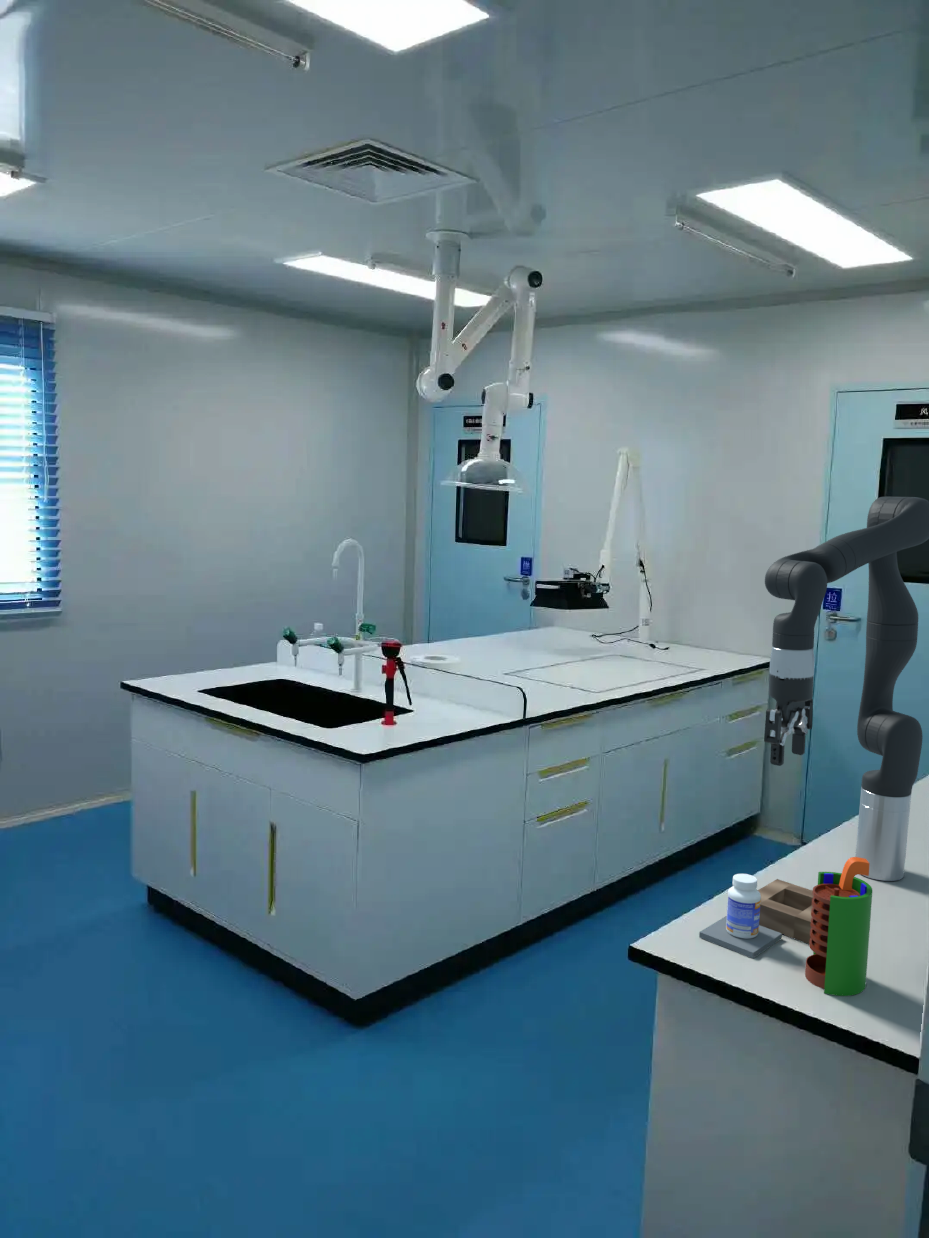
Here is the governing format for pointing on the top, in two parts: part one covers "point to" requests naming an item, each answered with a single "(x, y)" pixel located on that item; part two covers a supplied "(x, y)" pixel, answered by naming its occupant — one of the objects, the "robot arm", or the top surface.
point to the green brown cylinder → (840, 930)
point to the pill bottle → (743, 907)
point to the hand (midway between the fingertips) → (787, 759)
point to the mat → (740, 939)
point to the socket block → (786, 909)
